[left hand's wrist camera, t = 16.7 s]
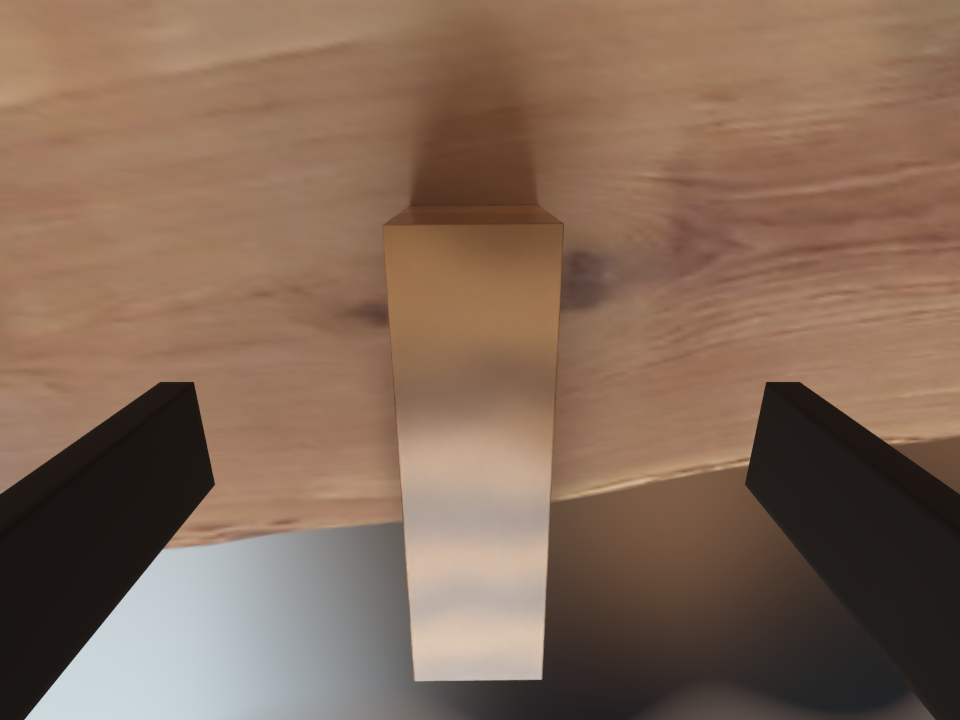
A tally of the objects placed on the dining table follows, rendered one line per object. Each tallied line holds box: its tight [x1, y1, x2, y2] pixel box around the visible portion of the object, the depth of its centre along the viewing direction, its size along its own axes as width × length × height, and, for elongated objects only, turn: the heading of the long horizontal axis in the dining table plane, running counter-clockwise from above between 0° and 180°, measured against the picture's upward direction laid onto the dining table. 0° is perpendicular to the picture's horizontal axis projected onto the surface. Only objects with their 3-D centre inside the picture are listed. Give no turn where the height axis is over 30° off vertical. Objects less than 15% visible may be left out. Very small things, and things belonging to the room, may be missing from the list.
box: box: [383, 205, 564, 681], centre depth 34 cm, size 28×8×10 cm, turn 0°
